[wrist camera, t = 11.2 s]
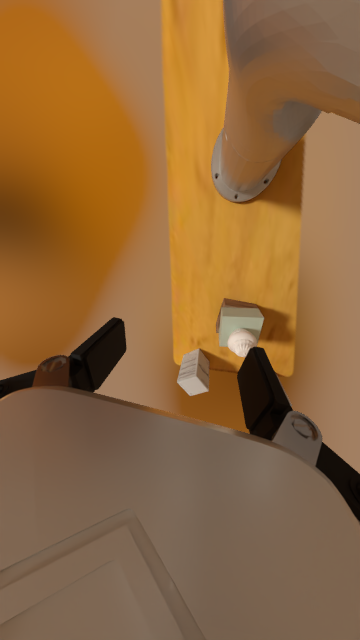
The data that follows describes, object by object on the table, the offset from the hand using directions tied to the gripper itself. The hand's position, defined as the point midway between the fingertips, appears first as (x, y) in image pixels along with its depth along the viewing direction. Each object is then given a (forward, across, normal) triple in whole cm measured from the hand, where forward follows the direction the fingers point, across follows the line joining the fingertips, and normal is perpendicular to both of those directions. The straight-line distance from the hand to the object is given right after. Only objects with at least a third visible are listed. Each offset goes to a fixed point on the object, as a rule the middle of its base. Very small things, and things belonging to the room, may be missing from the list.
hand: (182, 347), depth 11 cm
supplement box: (+34, -4, +33) cm, 47 cm away
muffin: (+24, -12, +12) cm, 29 cm away
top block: (+28, -12, +12) cm, 33 cm away
